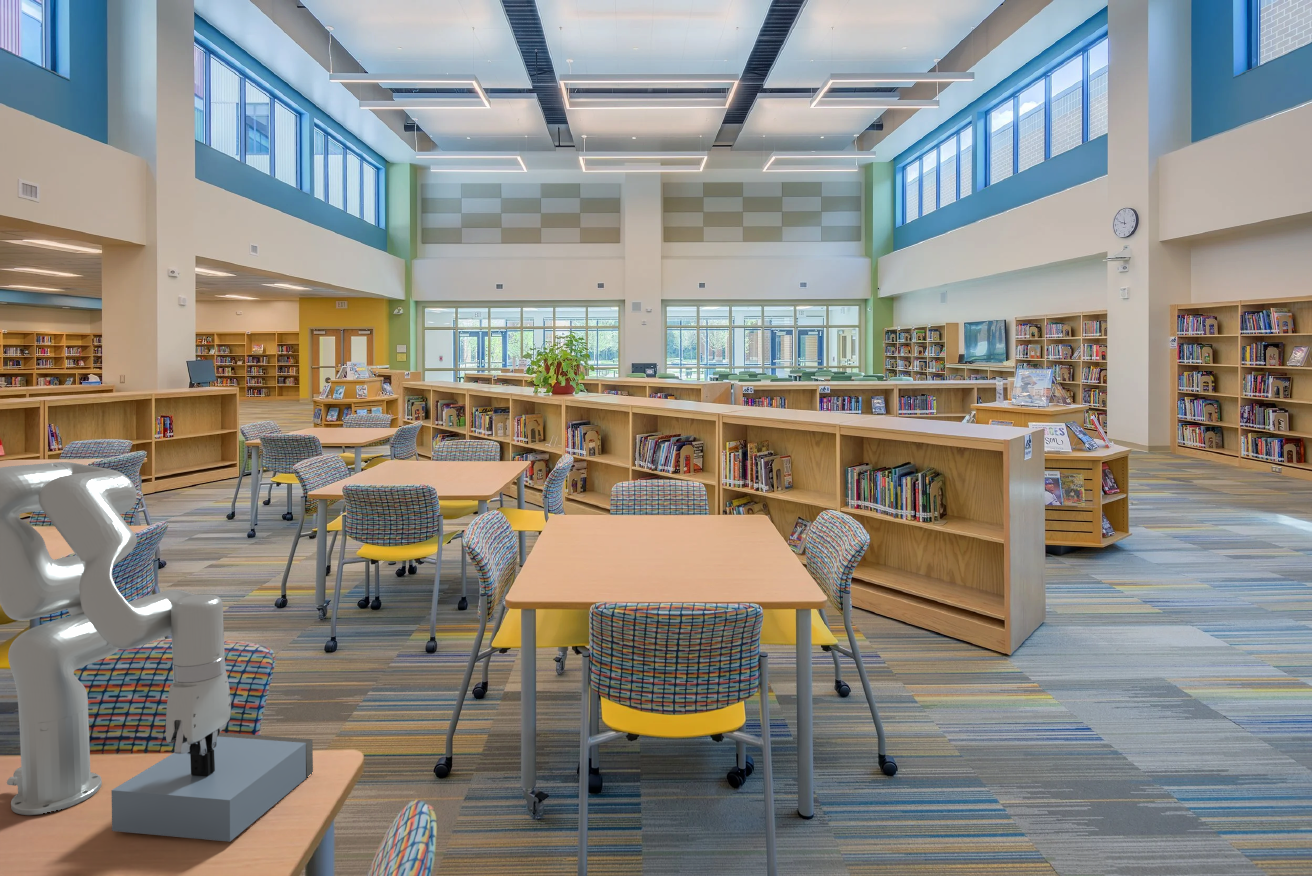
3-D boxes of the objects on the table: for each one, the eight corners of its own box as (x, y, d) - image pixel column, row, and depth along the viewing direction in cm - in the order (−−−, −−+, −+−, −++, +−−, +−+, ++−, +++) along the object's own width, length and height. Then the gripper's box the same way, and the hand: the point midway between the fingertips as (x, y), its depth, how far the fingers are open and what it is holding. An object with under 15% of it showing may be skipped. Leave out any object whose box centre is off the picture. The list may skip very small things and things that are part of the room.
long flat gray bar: (204, 771, 141) (203, 736, 140) (212, 765, 143) (211, 731, 142) (306, 779, 138) (306, 744, 138) (313, 773, 140) (312, 739, 140)
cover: (112, 830, 120) (111, 790, 120) (203, 770, 140) (203, 735, 140) (230, 841, 117) (229, 800, 117) (305, 778, 138) (305, 742, 138)
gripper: (210, 652, 132) (214, 751, 133) (143, 685, 117) (147, 796, 118) (249, 654, 131) (252, 753, 132) (186, 687, 116) (190, 799, 118)
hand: (203, 773), depth 125 cm, fingers closed
